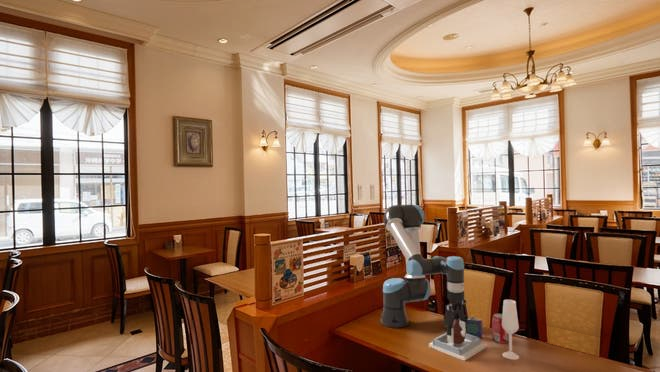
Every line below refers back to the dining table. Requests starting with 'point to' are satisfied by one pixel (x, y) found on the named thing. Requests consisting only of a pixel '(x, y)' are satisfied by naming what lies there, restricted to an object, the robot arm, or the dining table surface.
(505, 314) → the champagne flute
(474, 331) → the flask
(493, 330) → the soda can
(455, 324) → the poop emoji
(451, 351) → the white square tray
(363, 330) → the dining table surface
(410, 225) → the robot arm
